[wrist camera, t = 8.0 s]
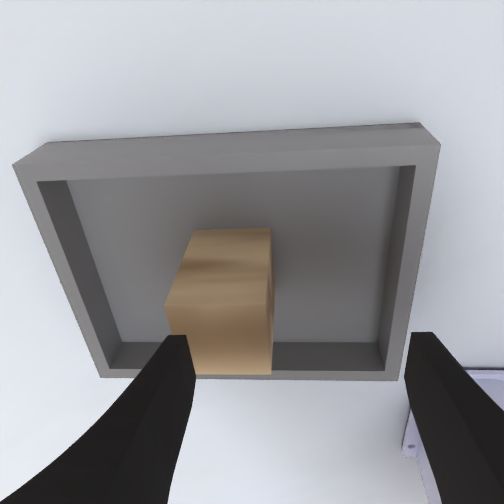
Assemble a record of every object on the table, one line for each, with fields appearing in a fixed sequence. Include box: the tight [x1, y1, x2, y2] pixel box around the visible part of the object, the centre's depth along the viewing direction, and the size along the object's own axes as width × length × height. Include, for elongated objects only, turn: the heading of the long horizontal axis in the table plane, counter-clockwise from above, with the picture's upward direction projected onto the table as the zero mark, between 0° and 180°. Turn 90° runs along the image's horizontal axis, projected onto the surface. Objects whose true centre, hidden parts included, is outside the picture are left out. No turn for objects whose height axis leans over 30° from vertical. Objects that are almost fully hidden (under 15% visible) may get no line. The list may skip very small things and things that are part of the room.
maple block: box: [164, 227, 275, 375], centre depth 19 cm, size 4×4×6 cm
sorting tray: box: [12, 123, 441, 381], centre depth 21 cm, size 14×18×3 cm
